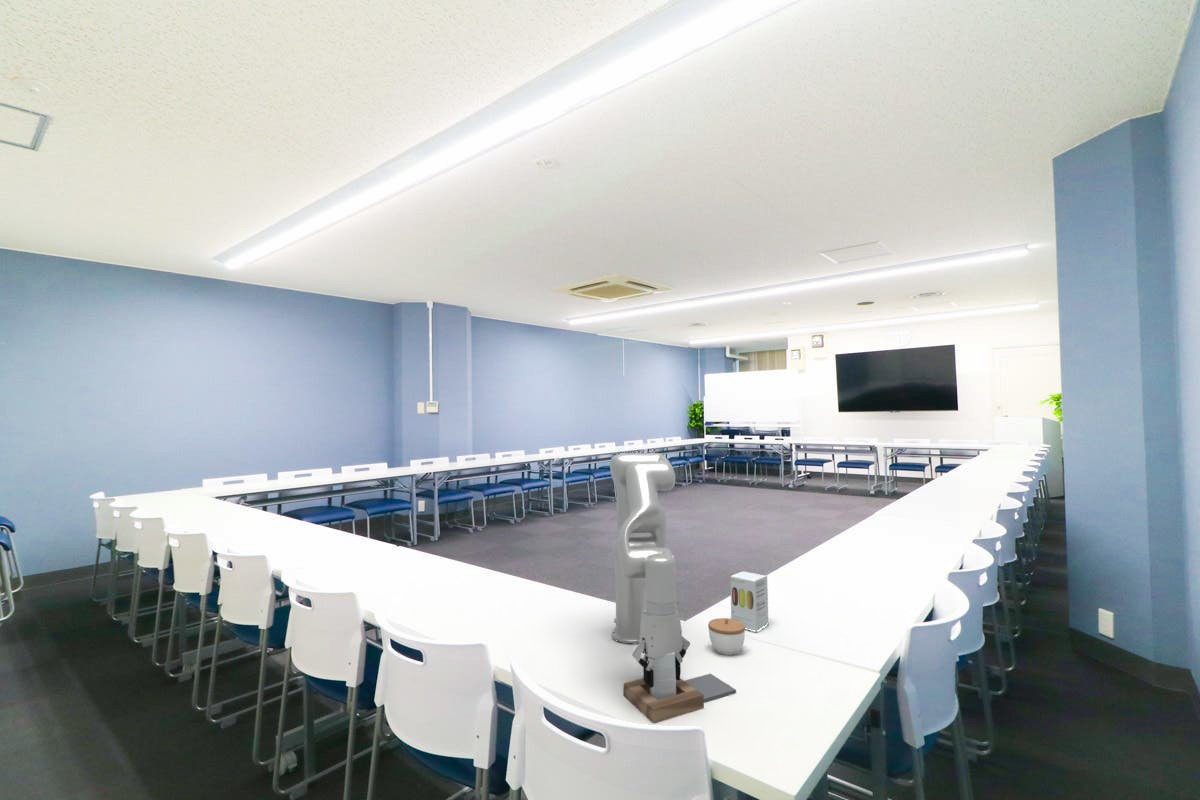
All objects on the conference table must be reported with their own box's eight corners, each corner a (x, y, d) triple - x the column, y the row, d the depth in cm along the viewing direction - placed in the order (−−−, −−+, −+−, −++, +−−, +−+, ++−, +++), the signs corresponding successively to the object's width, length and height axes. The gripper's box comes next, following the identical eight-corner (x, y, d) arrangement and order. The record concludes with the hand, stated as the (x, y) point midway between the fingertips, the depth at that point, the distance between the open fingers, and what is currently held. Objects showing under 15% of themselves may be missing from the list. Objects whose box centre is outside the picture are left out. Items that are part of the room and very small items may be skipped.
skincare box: (673, 696, 127) (672, 646, 128) (676, 705, 122) (675, 653, 123) (649, 697, 126) (648, 647, 127) (651, 706, 122) (650, 654, 123)
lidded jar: (740, 661, 146) (739, 627, 147) (704, 654, 152) (703, 621, 152) (749, 647, 156) (748, 616, 156) (714, 641, 161) (714, 610, 162)
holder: (623, 695, 128) (623, 683, 128) (670, 683, 134) (670, 671, 134) (653, 723, 115) (653, 709, 115) (703, 707, 121) (703, 694, 122)
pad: (679, 685, 133) (679, 681, 133) (710, 676, 137) (710, 673, 137) (703, 702, 124) (703, 699, 124) (736, 693, 128) (735, 689, 128)
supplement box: (730, 626, 173) (728, 575, 174) (743, 619, 180) (741, 570, 181) (757, 633, 167) (755, 580, 168) (769, 626, 173) (767, 575, 175)
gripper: (681, 597, 133) (682, 668, 132) (622, 607, 126) (623, 683, 124) (698, 605, 127) (700, 680, 125) (638, 617, 119) (639, 696, 118)
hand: (662, 681), depth 125 cm, fingers closed on skincare box, 7 cm apart
